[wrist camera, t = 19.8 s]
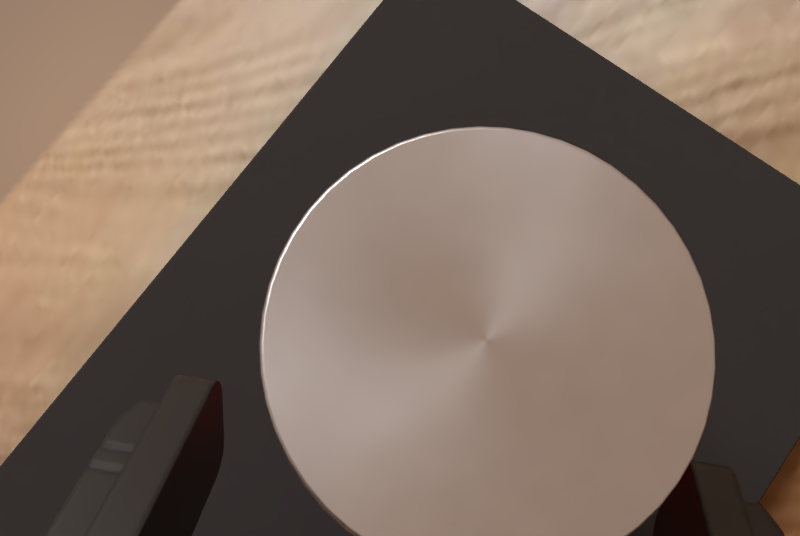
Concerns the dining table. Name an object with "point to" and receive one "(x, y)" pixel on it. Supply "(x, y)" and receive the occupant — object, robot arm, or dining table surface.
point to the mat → (375, 131)
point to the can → (487, 343)
